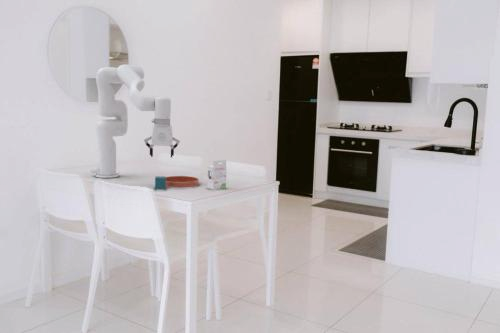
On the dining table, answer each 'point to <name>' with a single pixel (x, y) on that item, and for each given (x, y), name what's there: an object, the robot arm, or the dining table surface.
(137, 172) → the dining table surface
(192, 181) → the bowl
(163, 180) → the block
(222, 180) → the ink box
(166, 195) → the dining table surface
